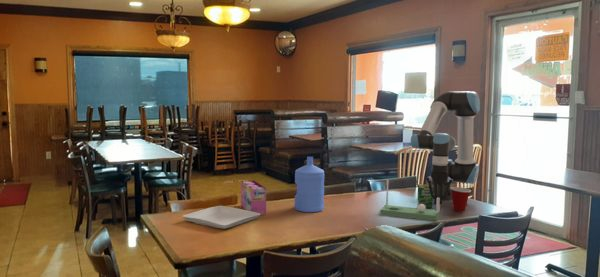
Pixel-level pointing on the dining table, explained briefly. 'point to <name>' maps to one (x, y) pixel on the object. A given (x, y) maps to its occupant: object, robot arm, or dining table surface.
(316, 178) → the water jug
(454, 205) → the plastic cup
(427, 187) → the coffee box
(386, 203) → the flag pin
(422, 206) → the ball
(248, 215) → the square plate
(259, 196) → the gum box
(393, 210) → the putting mat
